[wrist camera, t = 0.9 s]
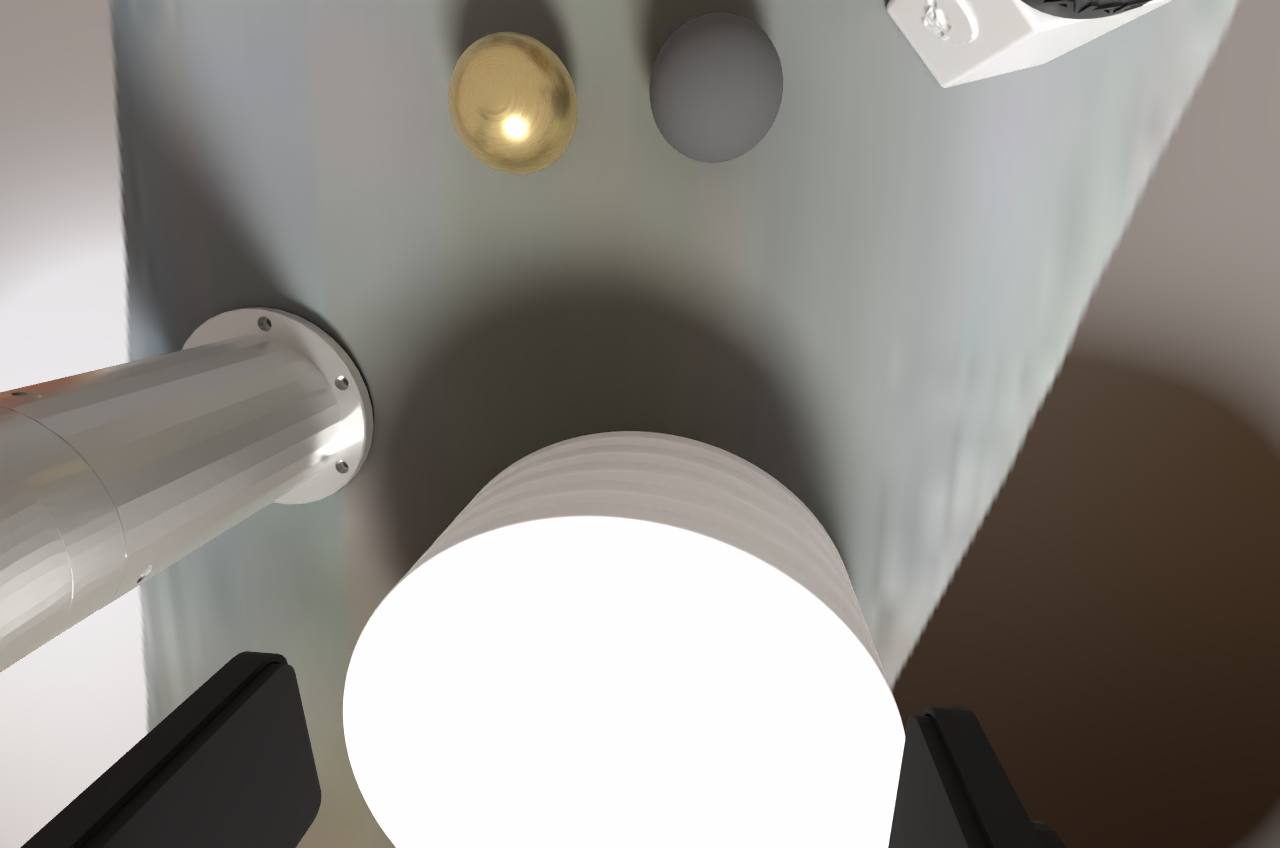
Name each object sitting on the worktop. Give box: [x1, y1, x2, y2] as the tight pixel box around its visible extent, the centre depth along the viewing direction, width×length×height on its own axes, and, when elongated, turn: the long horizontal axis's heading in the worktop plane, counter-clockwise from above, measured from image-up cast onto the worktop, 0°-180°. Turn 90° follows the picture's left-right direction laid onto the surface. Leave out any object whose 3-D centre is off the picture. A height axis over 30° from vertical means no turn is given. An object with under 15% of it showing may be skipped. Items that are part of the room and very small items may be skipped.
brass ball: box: [448, 32, 578, 175], centre depth 29 cm, size 6×6×6 cm
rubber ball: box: [650, 12, 783, 163], centre depth 28 cm, size 6×6×6 cm
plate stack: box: [343, 431, 905, 848], centre depth 36 cm, size 28×28×12 cm
